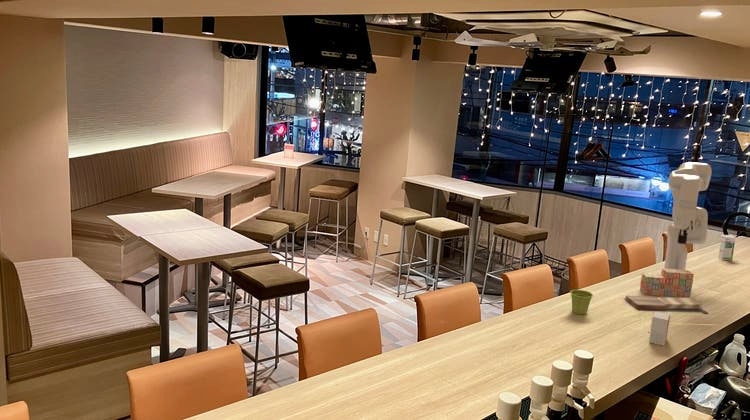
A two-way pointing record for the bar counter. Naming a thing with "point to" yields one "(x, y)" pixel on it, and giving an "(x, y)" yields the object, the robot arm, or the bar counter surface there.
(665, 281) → the stack of blocks
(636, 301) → the laid board
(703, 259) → the bar counter surface
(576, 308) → the plant pot
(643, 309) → the underlay mat
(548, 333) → the bar counter surface
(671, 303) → the plank
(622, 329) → the bar counter surface
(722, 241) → the syrup box
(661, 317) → the small box
